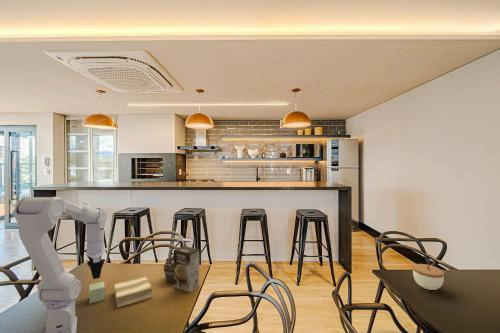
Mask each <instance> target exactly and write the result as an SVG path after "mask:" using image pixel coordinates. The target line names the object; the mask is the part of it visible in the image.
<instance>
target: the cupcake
mask: <svg viewBox="0 0 500 333" xmlns="http://www.w3.org/2000/svg"><path fill="white" fill-rule="evenodd" d="M163 272H164V276H165V281H166V282H167V283H170V284H174V254H173V255H172V256H171V257H169V258H168V257H167V258H165V263H164V264H163Z"/></svg>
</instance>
